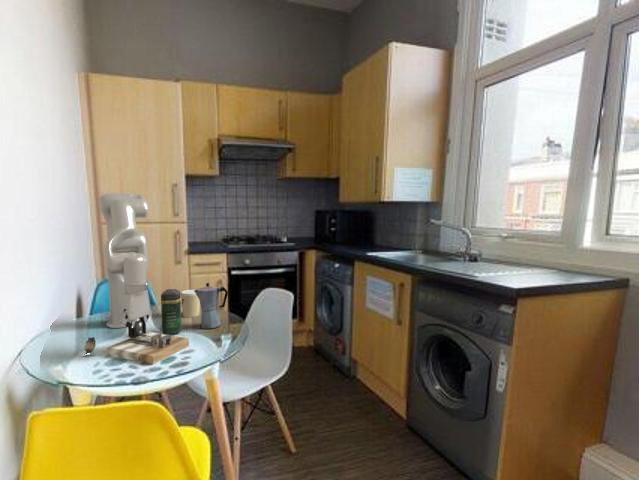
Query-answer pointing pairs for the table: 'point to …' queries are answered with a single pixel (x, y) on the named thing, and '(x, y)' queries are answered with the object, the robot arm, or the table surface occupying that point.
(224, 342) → the table surface
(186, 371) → the table surface
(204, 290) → the moka pot
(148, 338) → the dark metal knob
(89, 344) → the vase
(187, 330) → the table surface
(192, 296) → the coffee cup
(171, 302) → the coffee jar
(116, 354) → the lock board
